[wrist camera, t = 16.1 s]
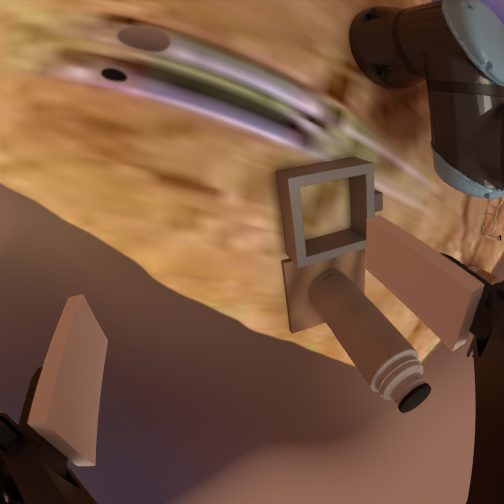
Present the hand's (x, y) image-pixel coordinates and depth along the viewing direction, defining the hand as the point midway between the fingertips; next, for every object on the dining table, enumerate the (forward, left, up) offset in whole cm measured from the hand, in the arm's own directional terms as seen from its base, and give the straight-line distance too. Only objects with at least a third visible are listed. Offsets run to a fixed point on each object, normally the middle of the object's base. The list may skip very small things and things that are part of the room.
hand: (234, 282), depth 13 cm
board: (-19, +27, -32) cm, 46 cm away
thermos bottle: (-19, +27, -31) cm, 45 cm away
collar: (-20, +11, -32) cm, 39 cm away
